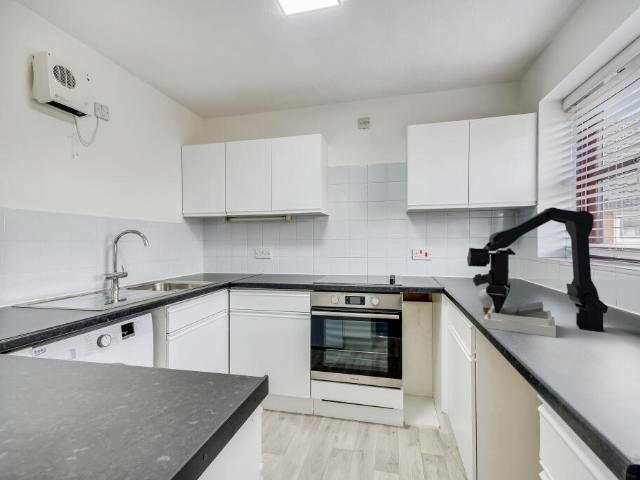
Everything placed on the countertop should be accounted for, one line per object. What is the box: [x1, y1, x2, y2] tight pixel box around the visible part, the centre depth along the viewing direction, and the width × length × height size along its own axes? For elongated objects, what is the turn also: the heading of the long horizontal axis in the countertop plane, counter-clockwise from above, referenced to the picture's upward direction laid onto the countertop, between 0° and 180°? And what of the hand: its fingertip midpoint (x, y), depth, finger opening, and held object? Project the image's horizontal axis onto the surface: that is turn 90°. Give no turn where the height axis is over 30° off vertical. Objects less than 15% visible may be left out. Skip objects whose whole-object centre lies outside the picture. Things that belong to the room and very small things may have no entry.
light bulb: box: [478, 288, 493, 315], centre depth 130 cm, size 6×6×10 cm
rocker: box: [498, 301, 544, 315], centre depth 111 cm, size 14×12×1 cm
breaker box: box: [483, 305, 557, 338], centre depth 111 cm, size 20×16×5 cm
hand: (498, 310), depth 115 cm, fingers open, 9 cm apart
